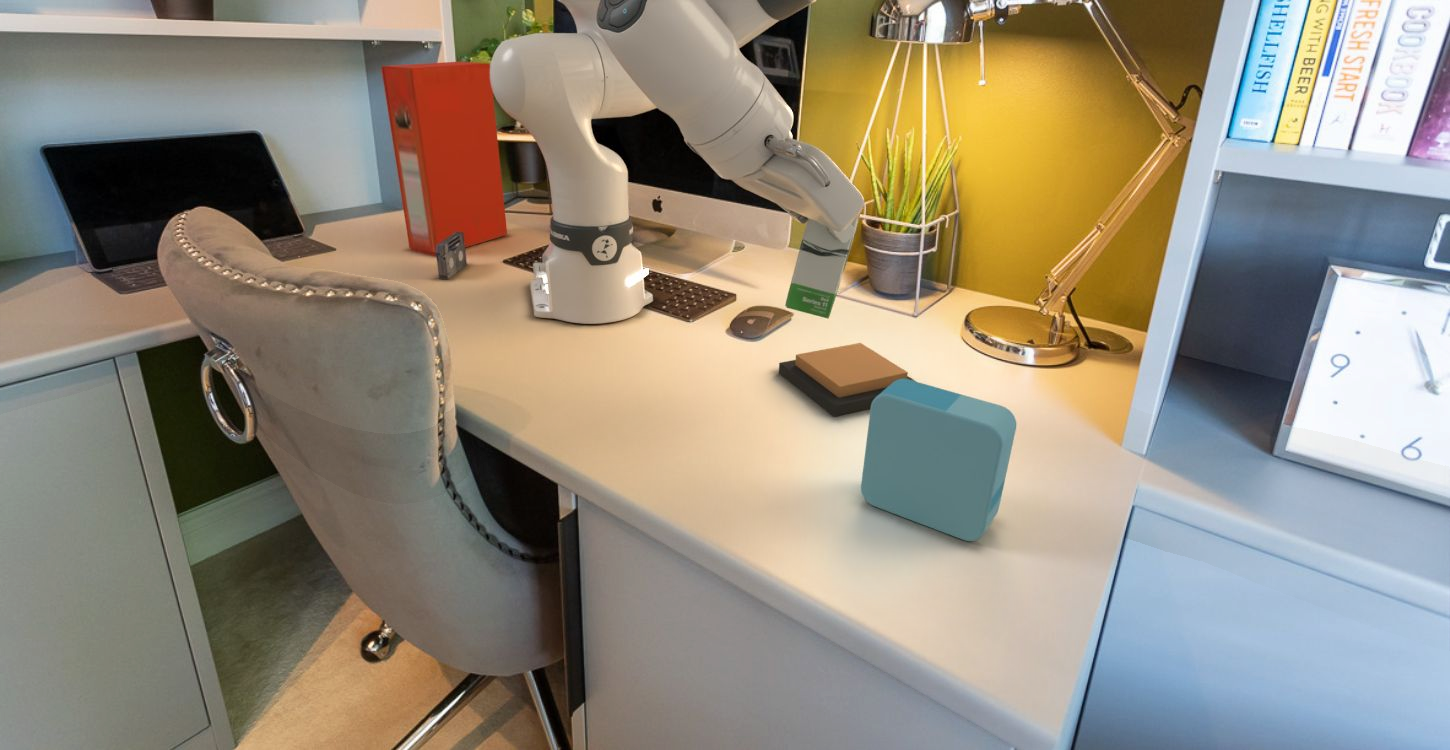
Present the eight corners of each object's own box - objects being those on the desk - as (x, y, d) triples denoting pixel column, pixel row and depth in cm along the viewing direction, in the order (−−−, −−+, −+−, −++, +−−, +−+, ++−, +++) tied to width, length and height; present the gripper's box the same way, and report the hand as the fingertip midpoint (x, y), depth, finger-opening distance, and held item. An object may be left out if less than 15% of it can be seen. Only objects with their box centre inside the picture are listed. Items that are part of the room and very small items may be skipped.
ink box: (829, 321, 80) (861, 206, 76) (782, 308, 81) (812, 194, 76) (836, 300, 88) (866, 196, 84) (794, 288, 89) (821, 184, 84)
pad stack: (778, 373, 102) (779, 351, 100) (860, 357, 107) (863, 336, 106) (834, 417, 91) (836, 394, 90) (922, 397, 96) (925, 375, 95)
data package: (996, 523, 73) (1020, 409, 68) (980, 547, 70) (1005, 430, 65) (877, 480, 79) (891, 373, 74) (858, 501, 76) (871, 390, 70)
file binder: (408, 249, 146) (380, 65, 132) (478, 229, 159) (459, 60, 146) (439, 256, 142) (413, 68, 129) (507, 235, 156) (491, 63, 142)
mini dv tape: (458, 264, 138) (454, 231, 136) (466, 265, 138) (463, 231, 136) (439, 279, 131) (434, 244, 129) (448, 279, 131) (443, 244, 128)
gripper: (829, 119, 63) (910, 228, 71) (718, 91, 79) (794, 182, 87) (777, 179, 63) (864, 281, 71) (677, 138, 79) (757, 225, 87)
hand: (824, 226), depth 79 cm, fingers closed on ink box, 6 cm apart
